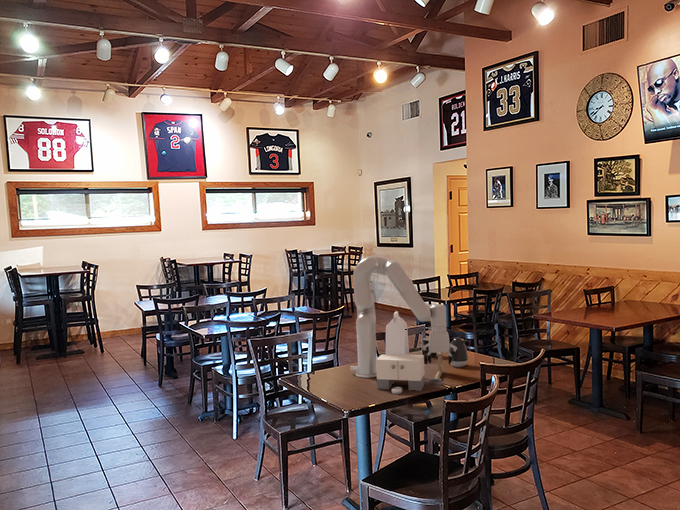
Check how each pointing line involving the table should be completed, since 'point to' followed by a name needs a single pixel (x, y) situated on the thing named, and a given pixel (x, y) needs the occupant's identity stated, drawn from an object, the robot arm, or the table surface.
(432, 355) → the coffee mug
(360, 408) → the table surface
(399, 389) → the steel puck
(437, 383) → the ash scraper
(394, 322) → the milk
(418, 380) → the cabinet
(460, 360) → the pump dispenser
